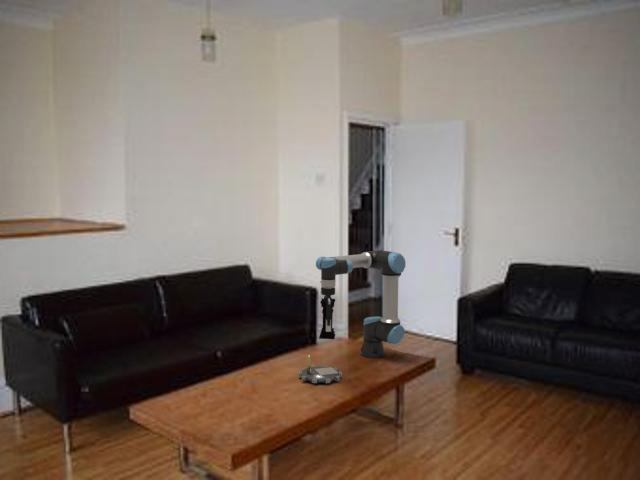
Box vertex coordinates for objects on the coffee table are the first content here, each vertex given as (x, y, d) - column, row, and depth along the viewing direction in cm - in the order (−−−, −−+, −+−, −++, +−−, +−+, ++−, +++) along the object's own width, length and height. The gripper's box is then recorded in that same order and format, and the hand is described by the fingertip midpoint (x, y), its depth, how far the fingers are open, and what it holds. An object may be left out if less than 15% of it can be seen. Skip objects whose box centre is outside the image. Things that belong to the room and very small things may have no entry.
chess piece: (335, 335, 311) (336, 298, 309) (334, 339, 303) (334, 301, 301) (320, 334, 312) (321, 298, 310) (319, 338, 304) (319, 301, 302)
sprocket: (293, 371, 316) (293, 350, 315) (331, 367, 324) (332, 346, 323) (307, 385, 295) (307, 362, 294) (348, 380, 303) (348, 358, 302)
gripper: (319, 283, 314) (318, 324, 317) (323, 290, 294) (322, 334, 297) (332, 283, 315) (332, 324, 317) (337, 290, 295) (336, 334, 298)
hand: (327, 329), depth 307 cm, fingers closed on chess piece, 7 cm apart
